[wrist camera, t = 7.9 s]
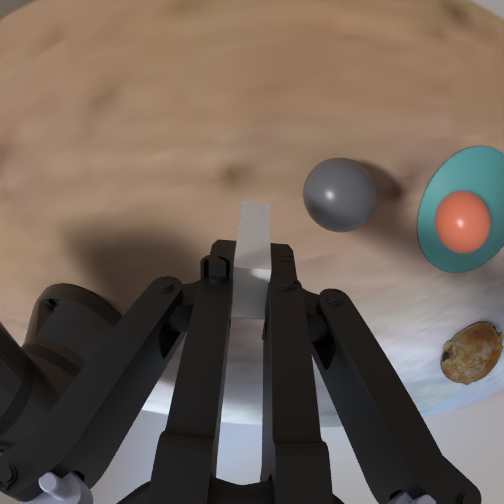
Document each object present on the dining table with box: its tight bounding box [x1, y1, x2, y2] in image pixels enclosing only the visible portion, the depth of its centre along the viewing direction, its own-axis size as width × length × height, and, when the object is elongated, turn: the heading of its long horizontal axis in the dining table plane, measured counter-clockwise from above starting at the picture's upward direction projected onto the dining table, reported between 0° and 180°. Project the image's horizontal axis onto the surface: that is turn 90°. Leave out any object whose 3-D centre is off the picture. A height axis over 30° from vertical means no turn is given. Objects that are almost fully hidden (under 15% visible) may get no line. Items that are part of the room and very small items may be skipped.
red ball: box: [434, 190, 490, 254], centre depth 22 cm, size 6×6×6 cm
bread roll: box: [440, 322, 503, 385], centre depth 33 cm, size 10×10×8 cm
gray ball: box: [303, 158, 377, 232], centre depth 22 cm, size 6×6×6 cm
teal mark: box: [417, 146, 504, 273], centre depth 24 cm, size 14×14×1 cm
